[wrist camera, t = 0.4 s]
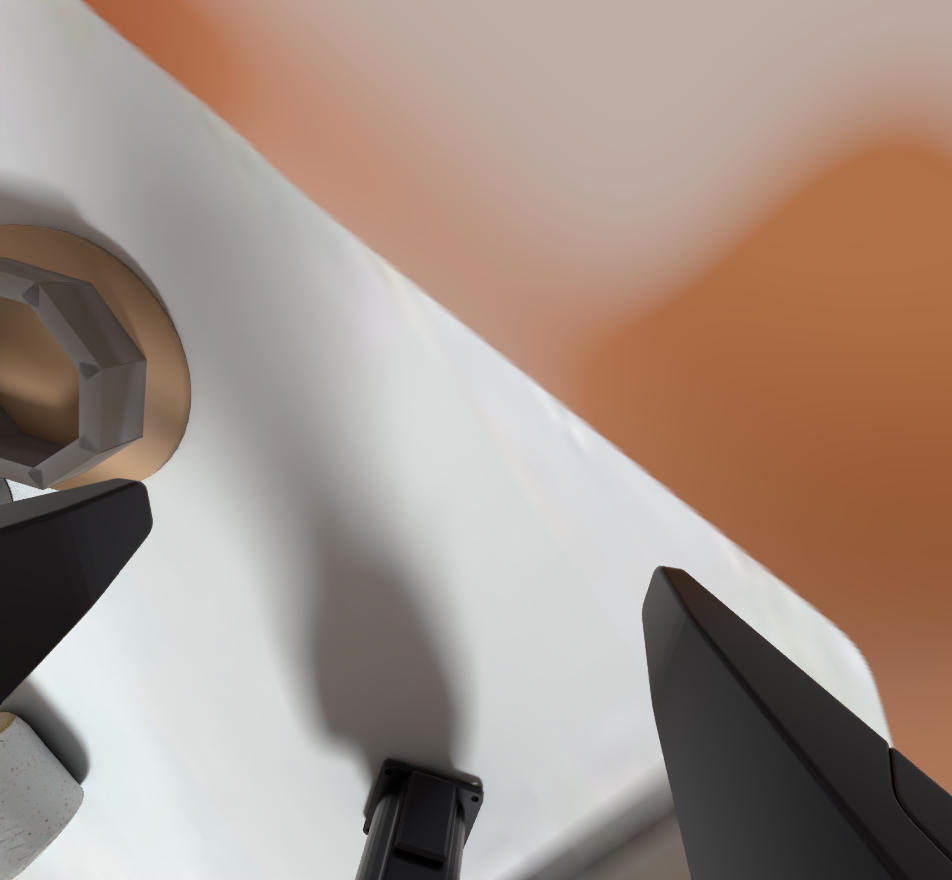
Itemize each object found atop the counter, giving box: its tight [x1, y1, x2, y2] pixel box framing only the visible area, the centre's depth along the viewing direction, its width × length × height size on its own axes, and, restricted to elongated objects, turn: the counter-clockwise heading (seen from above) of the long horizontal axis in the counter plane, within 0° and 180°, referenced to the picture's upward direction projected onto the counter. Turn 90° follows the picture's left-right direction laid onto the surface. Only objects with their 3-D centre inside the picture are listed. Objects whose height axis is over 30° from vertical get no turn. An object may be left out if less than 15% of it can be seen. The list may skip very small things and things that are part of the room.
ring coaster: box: [0, 225, 191, 491], centre depth 22 cm, size 13×13×3 cm
